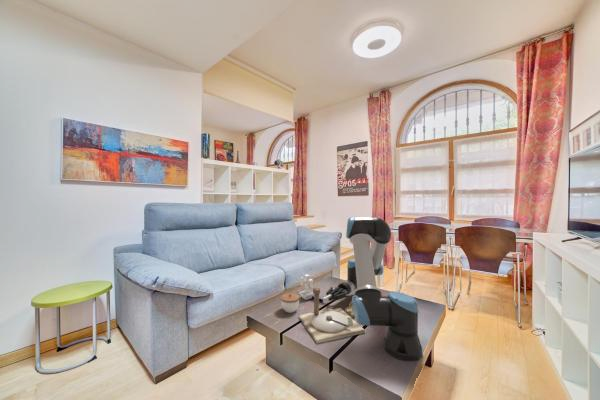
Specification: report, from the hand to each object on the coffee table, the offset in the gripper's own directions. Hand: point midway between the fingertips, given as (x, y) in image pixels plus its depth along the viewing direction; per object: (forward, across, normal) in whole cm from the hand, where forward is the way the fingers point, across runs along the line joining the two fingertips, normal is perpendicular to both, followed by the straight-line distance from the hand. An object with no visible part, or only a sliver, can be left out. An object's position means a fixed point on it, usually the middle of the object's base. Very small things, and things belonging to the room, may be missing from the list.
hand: (324, 300), depth 131 cm
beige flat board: (+6, -7, -8) cm, 13 cm away
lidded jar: (+7, +19, -9) cm, 22 cm away
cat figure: (-20, -16, -9) cm, 27 cm away
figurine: (-12, +22, -9) cm, 26 cm away
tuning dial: (+6, -8, -7) cm, 12 cm away
